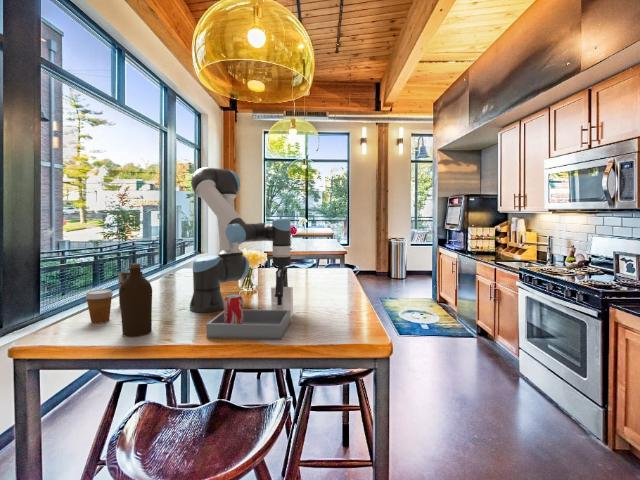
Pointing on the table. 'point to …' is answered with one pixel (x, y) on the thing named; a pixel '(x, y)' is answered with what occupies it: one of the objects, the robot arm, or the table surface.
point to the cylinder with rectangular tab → (286, 299)
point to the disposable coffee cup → (99, 305)
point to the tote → (251, 325)
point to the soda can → (233, 309)
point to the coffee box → (123, 278)
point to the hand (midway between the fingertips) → (282, 309)
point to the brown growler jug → (136, 304)
